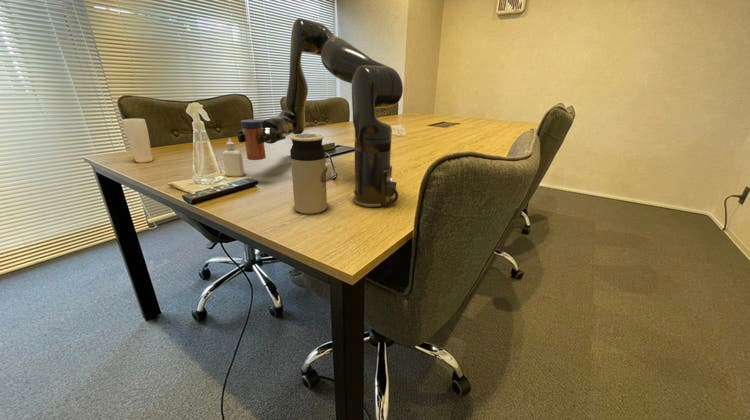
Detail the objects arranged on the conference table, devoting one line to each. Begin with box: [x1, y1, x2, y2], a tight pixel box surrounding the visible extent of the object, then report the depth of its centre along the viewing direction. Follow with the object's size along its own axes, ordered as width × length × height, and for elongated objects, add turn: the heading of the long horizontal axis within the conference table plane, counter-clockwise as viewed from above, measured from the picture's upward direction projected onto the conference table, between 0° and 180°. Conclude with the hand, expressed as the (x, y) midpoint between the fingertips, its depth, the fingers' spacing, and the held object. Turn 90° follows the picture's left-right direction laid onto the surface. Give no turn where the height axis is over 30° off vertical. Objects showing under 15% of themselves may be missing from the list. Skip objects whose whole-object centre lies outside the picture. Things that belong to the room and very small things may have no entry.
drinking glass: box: [121, 118, 154, 164], centre depth 110 cm, size 7×7×15 cm
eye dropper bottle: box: [221, 137, 245, 178], centre depth 98 cm, size 4×6×12 cm
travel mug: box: [289, 133, 328, 215], centre depth 73 cm, size 8×8×18 cm
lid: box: [240, 118, 263, 129], centre depth 87 cm, size 6×6×2 cm
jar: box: [242, 127, 267, 161], centre depth 89 cm, size 5×5×10 cm
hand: (249, 139), depth 86 cm, fingers closed on jar, 5 cm apart
